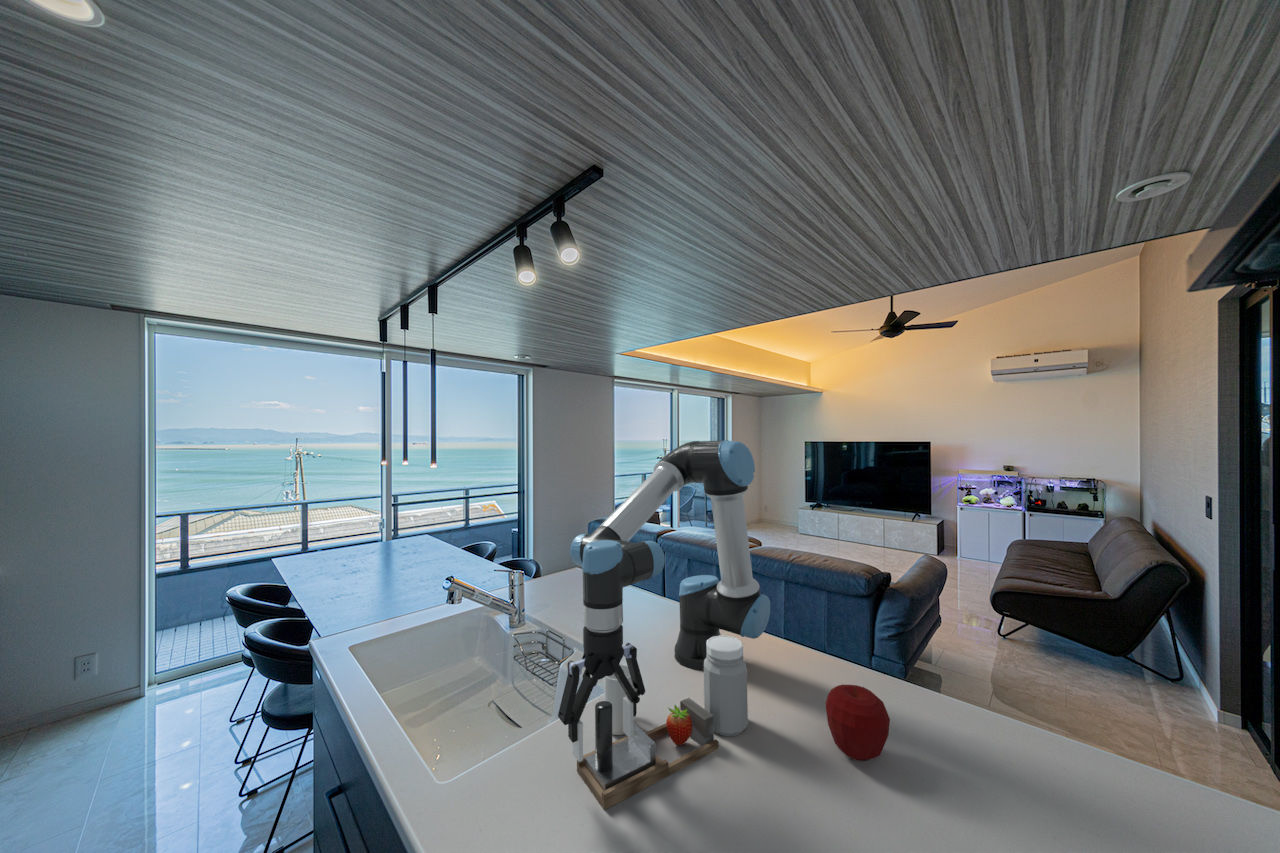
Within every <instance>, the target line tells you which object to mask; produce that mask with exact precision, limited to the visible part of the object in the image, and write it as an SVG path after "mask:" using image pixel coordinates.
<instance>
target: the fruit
mask: <svg viewBox="0 0 1280 853" xmlns="http://www.w3.org/2000/svg"><path fill="white" fill-rule="evenodd" d="M667 708H668V710H669V711H670V713H669V715H668V716H667V718H666V726H667V731H668V733H667V734H668V736H669V737H670V739H671V740H672V742H673V743H674V745H677V746H682V745H684V744H685V743H687V742H688V740H689V739H690V738H691V737H690V735H691V733H692V721H691V718H690V716H689V714H690V713H687V710H688V709H686V710H684V711H682V710H680V708H679V706H677V705H676V704H674V709H672V708H670V707H669V706H668V707H667Z"/></svg>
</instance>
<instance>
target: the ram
mask: <svg viewBox="0 0 1280 853" xmlns="http://www.w3.org/2000/svg"><path fill="white" fill-rule="evenodd" d="M594 709H595V710H594V714H595V715H594V716H595V717H594V718H595V719H594V720H595V721H594V724H595V726H594V728H595V732H594V736H595V739H594V740H595V743H594V744H595V750H594V751H595V754H592V755H590V756H588V757H586V758H585V765H586V766H587V768H588V769H589V770H590V772H591V773H592V774H593V776H594V777H595V778H596V780H597V781H598V782H599V784H600V785H601V786H602V788H603V789H604V790H607V789H609V788H611V787H613V786H615V785H617V784H619V783H621V782H623V781H625V780H627V779H628V778H630V777H632V776H634V775H636V774H638V773H640V772H642V771H644V770H646V769H648V768H650V767H652V766H654V765H656V755H657V753H656V742H655V741H654V739H653V740H652V739H651V738H650V737H649V736H647V735H646V734H645V731H643V730H642V729H641V727H640V726H638V725H637V724H636V723H635V722H634V721H633V724H634V738H632V739H630V738H629V737H628V739H626V740H624V741H621V742H619V743H617V744H615V745H612V743H613V734H612V704H611V703H610V702H608V701H604V700H602V701H598V702H597V703H595V705H594Z"/></svg>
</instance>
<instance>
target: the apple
mask: <svg viewBox="0 0 1280 853" xmlns="http://www.w3.org/2000/svg"><path fill="white" fill-rule="evenodd" d="M825 713H826V719H827V725H828V727H829V730H830V733H831V736H832V738H833V741H834V744H835V746H836V747H837V748H838V749H839V751H841V753H843V754H844V755H845V756H846V757H848V758H850V759H851V760H854V761H857V762H865V761H869V760H872V759H875V758H878V757H880V756H881V754H882V753H883V751H884V748H885V745H886V743H887V740H888V738H889V734H890V733H889V732H890V723H891V722H890V721H891V719H890V718H891V717H890V716H889V714H888V711H887V708H886V706H885V703H884V701H882V700H881V699H880V698H879V696H877V695H876V694H875V693H874V692H873V691H872V690H869V689H868V688H866V687H864V686H860V685H857V684H839V685H837V686H834V687H833V688H831V689H830V691H829V692H828V693H827V696H826V699H825Z"/></svg>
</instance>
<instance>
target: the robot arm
mask: <svg viewBox="0 0 1280 853" xmlns="http://www.w3.org/2000/svg"><path fill="white" fill-rule="evenodd" d="M755 470H756V469H755V461H754V457H753V454H752V452H751V451H750V448H748V446H747V445H746V444H745V443H743V442H741V441H737V440H728V439H725V440H701V441H700V440H694V441H689V442H686V443H683V444H681V445H679V446H678V447H676V448H674V449H672V450H671V451H669V452H668V453H667V454H665V455H664V456H663V457H662V458H661V459H660V460H659V461H658V462H657V463H656V464H655V465H654V468H653V472H652V473H651V474H649V476H648V477H647V478H646V479H645V480H644V481H643V482H642V483H641V484H640V485H639V486H638V487H637V488H636V489H635V490H634V491H633V492H632V493H631V494H629V496H628V497H627V498H626V499H625V500H623V502H622V503H621V504H619V506H618V507H617V508H616V509H615V510H613V512H612V513H611V514H609V516H608V517H607V518H606V519H605V520H604V521H603V522H602V523H601V524H600V525H599V526H598V527H597V528H596V529H594V531H592V532H591V533H589V532H587V533H581V534H579V535H576V536H575V537H574V539H573V540H572V542H571V544H570V550H569V555H570V558H571V560H572V563H574V564H575V565H577V566H579V567H581V570H582V598H583V599H582V602H583V603H582V609H583V611H582V616H583V617H582V618H583V619H582V623H583V629H582V633H583V634H582V636H583V637H582V640H583V641H582V643H583V644H582V646H583V655H582V656H581V658H580V659H579V660H576V661H573V660H569V661H568V662H567V666H566V667H567V677H566V681H565V684H564V689H563V694H562V697H561V701H560V706H559V710H558V714H557V718H558V719H559V720H560V721H561V723H563V725H564V726H567V725H568V728H567V730H568V732H567V736H568V738H569V740H570V741H571V743H572V755H573V756H574V757H575V759H576V761H577V760H578V761H579V762H581V761H583V755H584V723H583V721H581V718H582V715H583V713H584V710H585V708H586V705H587V703H588V702H589V699H590V696H591V694H592V691H593V689H594V687H596V686H597V684H598V681H600V680H602V679H604V677H605V676H611V675H613V674H614V675H615V677H616V678H617V680H618V682H619V683H620V685H621V687H622V688H623V690H624V692H625V693H626V695H627V697H623V732H624V733H625V734H624V735H625V736H628V737H629V738H630V739H632V738H634V724H633V722H634V717H637V713H638V712H637V709H638V708H637V704H639V702H640V701H641V698H640V696H643V695H645V693H646V688H645V684H644V681H643V677H642V674H641V671H640V666H639V663H638V659H637V657H638V653H637V652H638V648H637V647H636V646H634V645H633V644H631V643H630V642H627V643H626V644H625V645H624V646H623V644H624V626H623V625H622V624H623V622H624V610H623V608H624V607H623V603H624V602H623V601H624V599H623V598H624V597H623V596H624V594H623V593H624V590H623V589H624V588H626V587H629V586H631V585H634V584H637V583H640V582H642V581H646V580H647V581H648V580H650V579H652V578H654V577H655V576H657V575H659V574H661V572H663V569H664V567H665V564H666V563H665V562H666V560H665V553H664V551H663V548H662V547H661V546H660V544H659V543H657V542H656V541H654V540H641V541H639V542H633V541H631V539H632V538H633V537H634V536H635V535H636V534H637V533H638V531H639V530H641V528H642V527H643V526H644V525H645V524H646V523H647V522H648V521H649V519H651V517H652V516H653V515H654V514H655V513H656V512H657V510H658V509H659V508H661V506H662V505H663V504H664V503H665V502H666V501H667V499H668V498H669V497H670V496H672V494H673V493H674V492H679V491H680V490H681V489H683V487H684V486H686V485H688V484H694V483H695V484H703V492H704V494H705V495H706V496H708V497H709V499H710V503H711V509H712V510H711V511H712V515H713V525H714V534H715V542H716V549H717V550H716V551H717V557H718V565H719V574H720V580H719V578H718V577H717V576H715V575H713V574H712V575H711V574H700V575H693V576H689V577H686V578H684V579H683V580H681V582H680V584H679V592H678V593H679V594H678V596H679V631H678V632H679V633H678V636H677V640H676V643H675V646H674V658H675V660H676V662H678V663H679V664H681V666H683V667H684V666H685V667H686V668H690V669H695V670H704V660H705V659H706V657H707V648H706V643H707V640H708V639H709V638H711V637H714V636H719V635H722V634H721V631H720V630H722V631H725V632H728V633H732V634H735V635H737V636H738V635H739V636H740V637H742V638H744V637H745V638H749V639H753V640H754V639H757V638H759V637H760V636H762V634H763V633H764V632H765V630H766V628H767V626H768V622H769V620H770V615H771V601H770V598H769V597H768V596H767V595H765V594H763V593H762V594H761V589H760V584H759V582H758V580H756V578H753V568H752V560H751V552H750V543H749V542H750V541H749V535H748V534H749V533H748V526H747V525H748V524H747V519H746V510H745V501H744V500H745V499H744V495H745V494H746V492H748V490H749V485H751V484H752V483H753V481H754V477H755V474H754V473H755ZM623 657H625V662H626V665H627V666H628V669H629V673H630V676H631V680H632V684H633V688H632V686H631V684H630V682H629V681H628V679H627V677H626V676H625V674H624V671H623V670H622V668H621V666H620V665H619V664H621V661H622V659H623ZM583 668H585V669H584V672H583V673H582V670H583ZM581 675H582V680H581V681H580V676H581ZM580 682H581V683H580ZM579 683H580V684H579Z"/></svg>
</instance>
